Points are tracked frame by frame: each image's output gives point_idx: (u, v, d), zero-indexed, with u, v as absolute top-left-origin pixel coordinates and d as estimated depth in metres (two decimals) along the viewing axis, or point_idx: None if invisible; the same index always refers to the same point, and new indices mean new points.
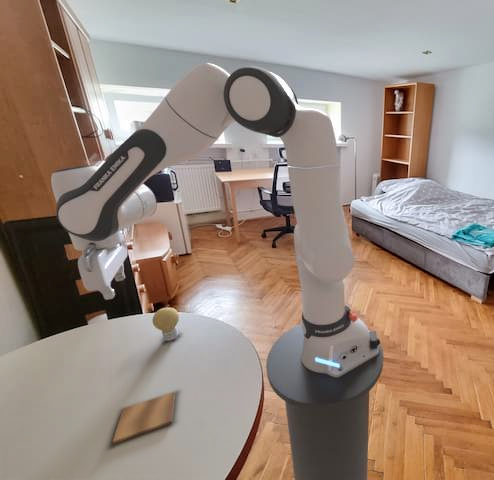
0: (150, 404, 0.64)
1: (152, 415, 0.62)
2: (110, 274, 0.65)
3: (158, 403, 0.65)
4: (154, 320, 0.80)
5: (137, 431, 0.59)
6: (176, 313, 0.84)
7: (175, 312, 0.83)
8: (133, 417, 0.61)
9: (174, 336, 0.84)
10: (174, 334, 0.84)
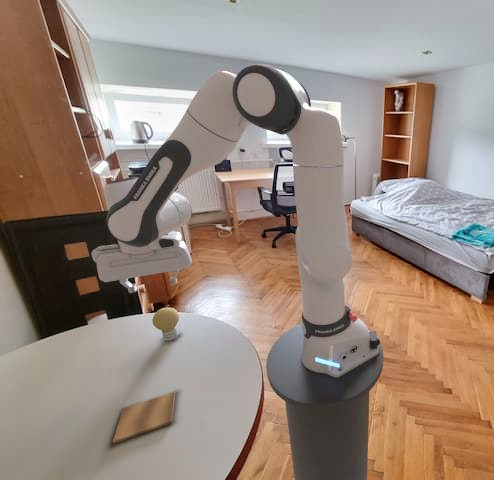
0: (150, 404, 0.64)
1: (152, 415, 0.62)
2: (120, 274, 0.73)
3: (158, 403, 0.65)
4: (154, 320, 0.80)
5: (137, 431, 0.59)
6: (176, 313, 0.84)
7: (175, 312, 0.83)
8: (133, 417, 0.61)
9: (174, 336, 0.84)
10: (174, 334, 0.84)
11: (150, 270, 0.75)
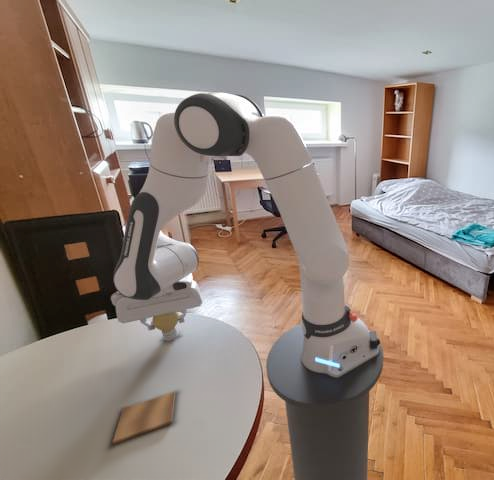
0: (150, 404, 0.64)
1: (152, 415, 0.62)
2: (137, 315, 0.78)
3: (158, 403, 0.65)
4: (154, 320, 0.80)
5: (137, 431, 0.59)
6: (176, 313, 0.84)
7: (175, 312, 0.83)
8: (133, 417, 0.61)
9: (174, 336, 0.84)
10: (174, 334, 0.84)
11: (164, 310, 0.80)
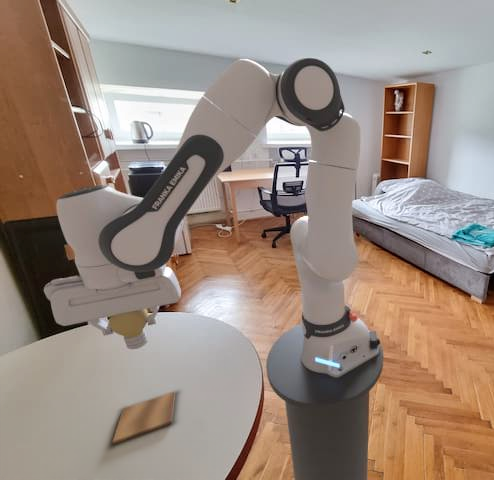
0: (150, 404, 0.64)
1: (152, 415, 0.62)
2: (84, 315, 0.55)
3: (158, 403, 0.65)
4: (110, 321, 0.57)
5: (137, 431, 0.59)
6: (143, 312, 0.60)
7: (142, 310, 0.60)
8: (133, 417, 0.61)
9: (141, 343, 0.61)
10: (141, 340, 0.61)
11: (125, 308, 0.57)
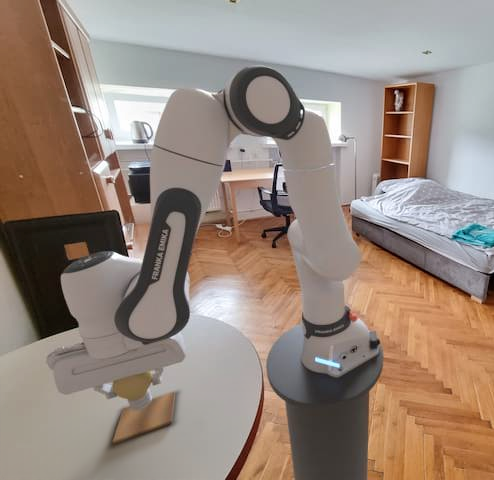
0: (150, 404, 0.64)
1: (152, 415, 0.62)
2: (88, 382, 0.53)
3: (158, 403, 0.65)
4: (114, 386, 0.55)
5: (137, 431, 0.59)
6: (148, 372, 0.59)
7: None
8: (133, 417, 0.61)
9: (145, 404, 0.60)
10: (145, 401, 0.60)
11: (130, 372, 0.56)
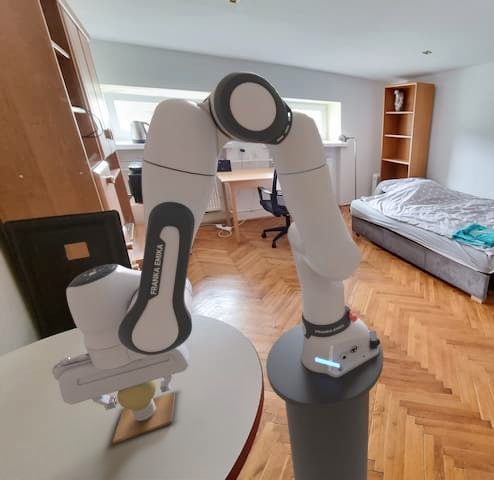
0: None
1: (152, 415, 0.62)
2: (93, 392, 0.54)
3: (158, 403, 0.65)
4: (119, 397, 0.57)
5: (137, 431, 0.59)
6: (152, 383, 0.60)
7: (150, 382, 0.60)
8: (133, 417, 0.61)
9: (149, 414, 0.61)
10: (149, 411, 0.61)
11: (134, 381, 0.57)
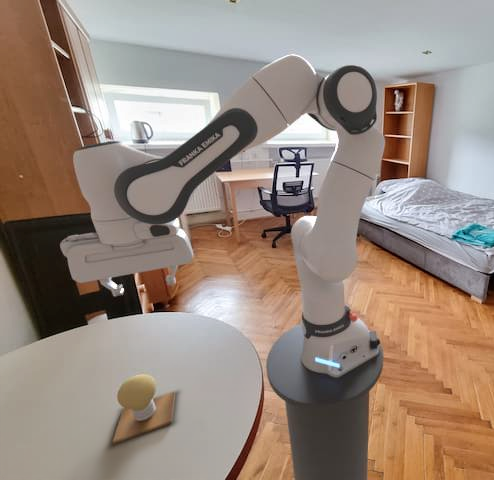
0: None
1: (152, 415, 0.62)
2: (100, 272, 0.55)
3: (158, 403, 0.65)
4: (119, 397, 0.57)
5: (137, 431, 0.59)
6: (152, 383, 0.60)
7: (150, 382, 0.60)
8: (133, 417, 0.61)
9: (149, 414, 0.61)
10: (149, 411, 0.61)
11: (140, 266, 0.58)
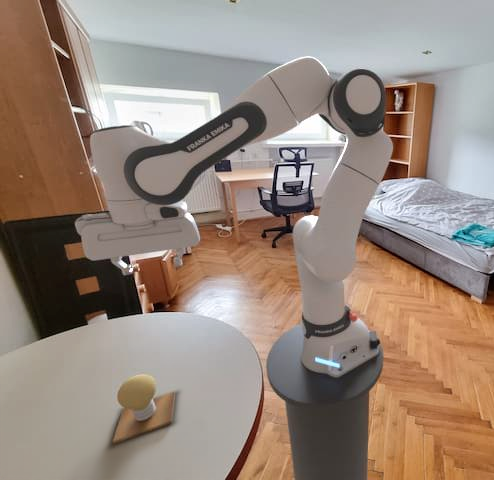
0: None
1: (152, 415, 0.62)
2: (111, 251, 0.58)
3: (158, 403, 0.65)
4: (119, 397, 0.57)
5: (137, 431, 0.59)
6: (152, 383, 0.60)
7: (150, 382, 0.60)
8: (133, 417, 0.61)
9: (149, 414, 0.61)
10: (149, 411, 0.61)
11: (149, 247, 0.61)
